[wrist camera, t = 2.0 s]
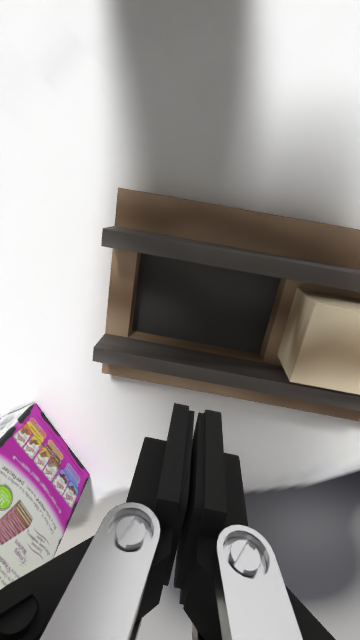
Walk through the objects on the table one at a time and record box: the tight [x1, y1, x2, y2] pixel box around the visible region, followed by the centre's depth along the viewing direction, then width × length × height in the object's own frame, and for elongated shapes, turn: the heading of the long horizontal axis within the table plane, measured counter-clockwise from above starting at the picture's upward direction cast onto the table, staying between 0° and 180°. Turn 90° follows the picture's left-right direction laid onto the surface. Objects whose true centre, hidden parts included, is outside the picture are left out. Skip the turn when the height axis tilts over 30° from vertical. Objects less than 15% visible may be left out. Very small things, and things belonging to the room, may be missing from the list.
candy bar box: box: [0, 403, 89, 590], centre depth 28 cm, size 11×5×16 cm, turn 28°
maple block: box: [277, 287, 360, 395], centre depth 24 cm, size 6×6×4 cm
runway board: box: [93, 188, 360, 421], centre depth 25 cm, size 16×38×5 cm, turn 81°
